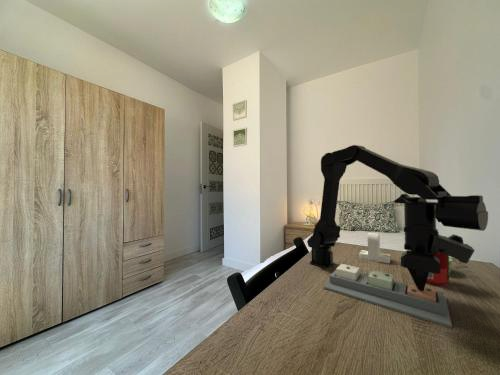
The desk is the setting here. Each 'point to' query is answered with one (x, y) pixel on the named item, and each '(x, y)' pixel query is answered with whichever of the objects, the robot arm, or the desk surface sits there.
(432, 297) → the tile
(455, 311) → the desk surface
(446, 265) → the canned food
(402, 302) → the board
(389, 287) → the tile
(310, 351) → the desk surface
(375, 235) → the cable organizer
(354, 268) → the tile
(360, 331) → the desk surface
